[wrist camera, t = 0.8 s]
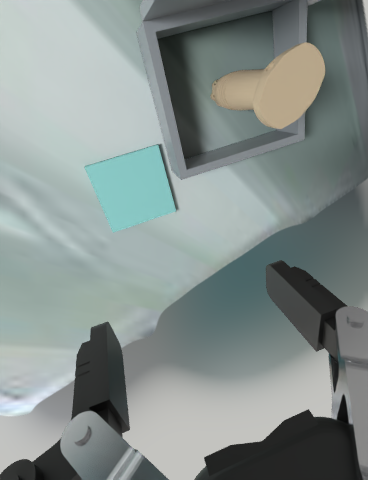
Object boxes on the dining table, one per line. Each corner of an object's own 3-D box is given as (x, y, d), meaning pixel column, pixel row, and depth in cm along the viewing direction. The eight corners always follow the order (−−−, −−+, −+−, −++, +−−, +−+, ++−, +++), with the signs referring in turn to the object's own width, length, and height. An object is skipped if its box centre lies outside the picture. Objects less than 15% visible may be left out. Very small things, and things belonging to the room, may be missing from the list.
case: (133, 21, 28) (178, -79, 12) (285, -16, 31) (490, -139, 15) (171, 170, 37) (227, 225, 21) (287, 133, 40) (416, 157, 24)
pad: (84, 166, 34) (84, 167, 33) (157, 144, 35) (158, 145, 34) (112, 230, 39) (113, 232, 38) (175, 209, 40) (176, 211, 40)
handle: (192, 100, 34) (248, 102, 21) (223, 54, 32) (304, 27, 20) (217, 125, 36) (282, 139, 23) (248, 83, 35) (333, 75, 22)
